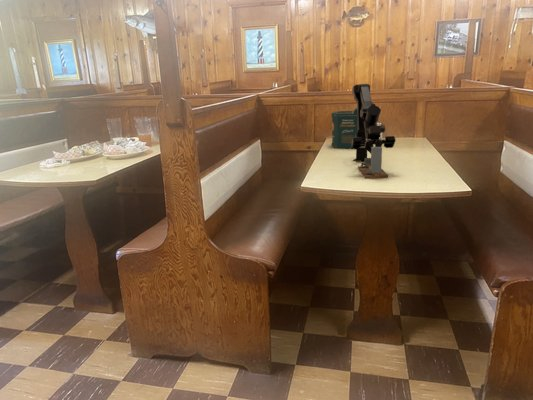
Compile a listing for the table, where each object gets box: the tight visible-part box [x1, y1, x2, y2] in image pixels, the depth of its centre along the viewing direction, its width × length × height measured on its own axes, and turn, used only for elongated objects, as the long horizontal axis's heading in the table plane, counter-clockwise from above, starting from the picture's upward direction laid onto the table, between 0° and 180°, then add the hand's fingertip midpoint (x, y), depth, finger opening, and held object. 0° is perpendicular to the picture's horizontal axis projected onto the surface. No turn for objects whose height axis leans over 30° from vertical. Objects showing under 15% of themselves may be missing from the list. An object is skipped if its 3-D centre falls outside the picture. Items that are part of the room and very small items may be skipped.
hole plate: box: [357, 157, 389, 179], centre depth 199 cm, size 20×10×5 cm, turn 178°
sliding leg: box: [367, 146, 383, 174], centre depth 190 cm, size 3×6×12 cm, turn 88°
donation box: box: [331, 107, 358, 150], centre depth 264 cm, size 16×16×28 cm
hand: (375, 158), depth 191 cm, fingers closed, pressing on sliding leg
